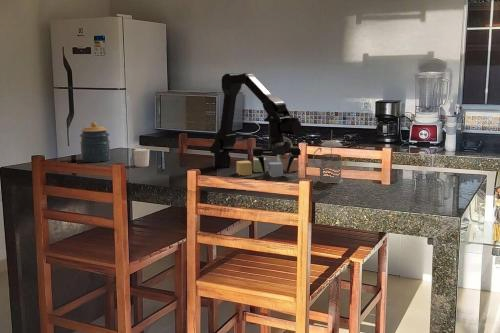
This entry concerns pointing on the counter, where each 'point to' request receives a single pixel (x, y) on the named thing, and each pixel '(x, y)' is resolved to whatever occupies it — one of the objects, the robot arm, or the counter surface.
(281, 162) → the beer glass
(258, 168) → the sage block
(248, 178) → the counter surface
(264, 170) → the robot arm
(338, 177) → the french press
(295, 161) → the terracotta block
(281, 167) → the grey cube
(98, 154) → the canister
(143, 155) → the white cup
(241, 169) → the ochre block
